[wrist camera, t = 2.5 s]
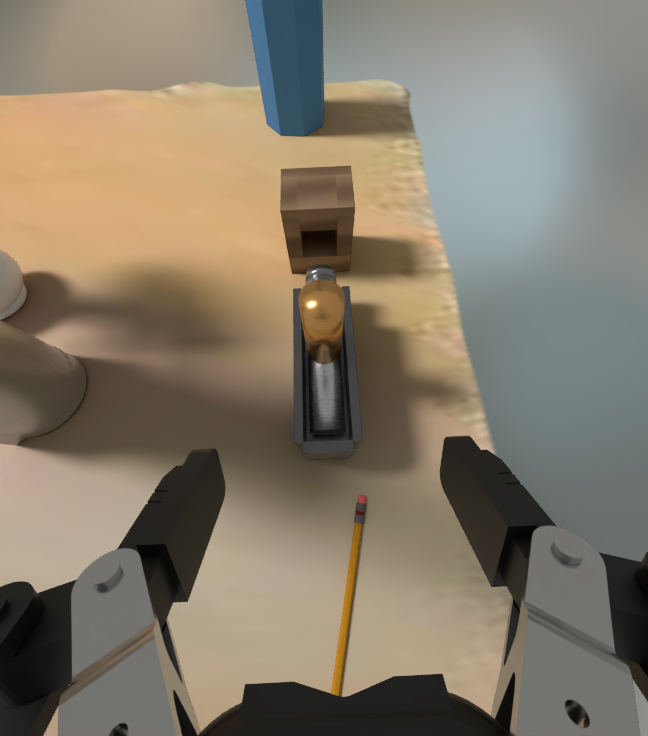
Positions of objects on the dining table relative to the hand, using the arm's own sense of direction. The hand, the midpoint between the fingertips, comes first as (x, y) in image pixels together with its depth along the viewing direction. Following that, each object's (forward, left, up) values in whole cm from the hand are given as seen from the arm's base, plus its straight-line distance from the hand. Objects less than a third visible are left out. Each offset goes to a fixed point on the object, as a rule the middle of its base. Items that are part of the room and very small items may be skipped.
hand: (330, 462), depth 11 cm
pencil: (-7, -8, -19) cm, 22 cm away
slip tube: (+8, +8, -16) cm, 19 cm away
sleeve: (+6, +6, -19) cm, 21 cm away
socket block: (+18, +19, -19) cm, 32 cm away
